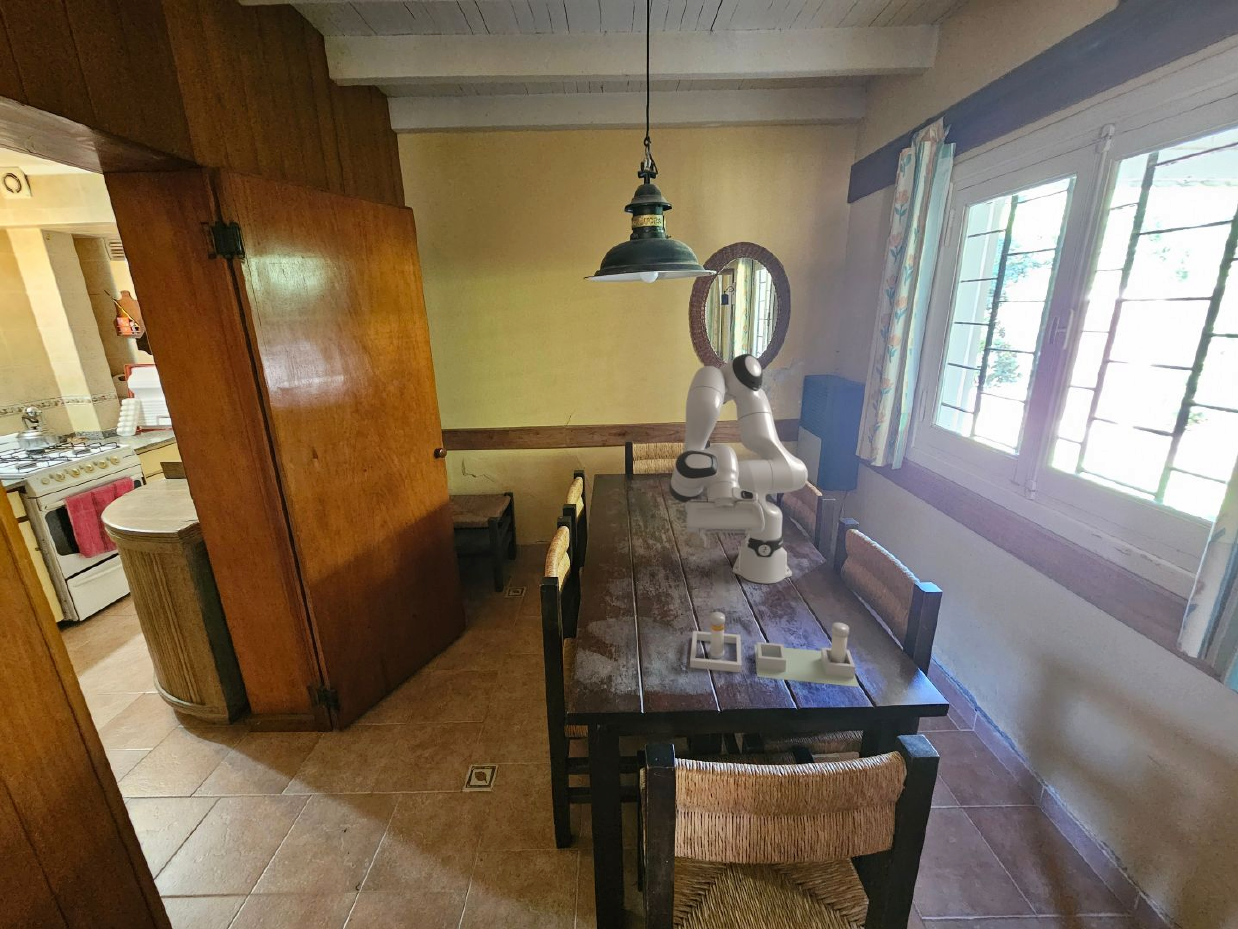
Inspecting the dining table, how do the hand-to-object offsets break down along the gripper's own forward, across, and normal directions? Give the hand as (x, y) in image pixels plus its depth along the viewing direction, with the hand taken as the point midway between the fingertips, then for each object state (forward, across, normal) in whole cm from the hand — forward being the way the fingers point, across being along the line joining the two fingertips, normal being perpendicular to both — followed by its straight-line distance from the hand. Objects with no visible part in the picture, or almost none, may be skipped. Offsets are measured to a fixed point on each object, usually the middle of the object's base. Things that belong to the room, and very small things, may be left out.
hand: (725, 547), depth 130 cm
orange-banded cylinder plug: (+25, -3, +9) cm, 27 cm away
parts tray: (+26, -3, +9) cm, 27 cm away
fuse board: (+27, +18, +8) cm, 33 cm away
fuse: (+27, +25, +7) cm, 37 cm away
